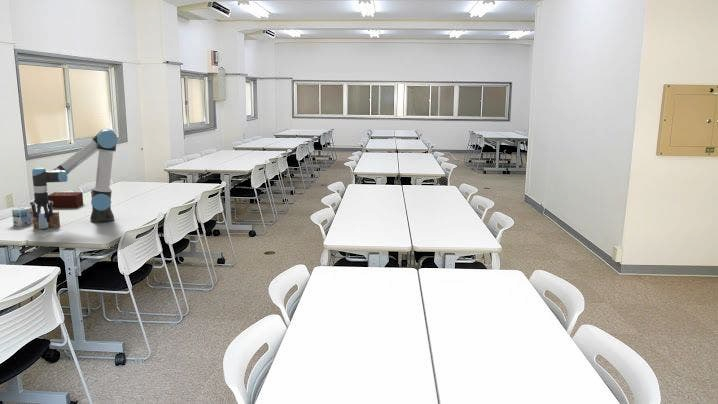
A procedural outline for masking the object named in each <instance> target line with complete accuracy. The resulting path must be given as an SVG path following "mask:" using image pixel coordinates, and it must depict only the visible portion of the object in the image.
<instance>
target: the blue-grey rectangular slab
mask: <svg viewBox="0 0 718 404" xmlns="http://www.w3.org/2000/svg"><path fill="white" fill-rule="evenodd" d="M47 209H48V212H49V208H47ZM52 212H54V211H53V209H52ZM45 218H46V215H45V211H44V210H43V211H41V213H39V223H40V228H39V229H40V230H46V229H47V228H46V226H45Z"/></svg>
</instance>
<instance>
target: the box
mask: <svg viewBox="0 0 718 404" xmlns="http://www.w3.org/2000/svg"><path fill="white" fill-rule="evenodd" d="M83 197H84V196H83V192H82V191H77V192H76V191H74V192H72V191H66V192H65V191H62V192H61V191H58V192H57V191H54V192H53V193H50V194H48V199H49V201H51V202H52V201H53V205H52V209H77V208H79V207H81V206H82V205H84V198H83ZM47 209H49V203H47Z"/></svg>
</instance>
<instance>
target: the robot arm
mask: <svg viewBox="0 0 718 404" xmlns="http://www.w3.org/2000/svg"><path fill="white" fill-rule="evenodd" d="M117 144H118V136H117V134H116V132H115V131H113V130H112V129H109V128H103V129H101V130H99V132H98V133H97V134H96V135H95V136H94V137H92V138H91V140H90V141H89V142H88V143H87V144H86V145H84V146H83V147H81V149H79V150H78V151H76V152H75V153H74V154H73V155H71V156H70V157H69V158H67V159H66V160H65V161H63V162H62V163H60V165H58V166H57V167H55V168H53V169H52V170H47V169H46V168H45V167H34V168H33V169H31V174H32V185H33V192H34V193H33V196H34V197H33V198H34V200H33V201H31V202H30V203H29V204H30V206H31V208H32V211H33V216H34V217H36V218H37V222H38V223H39V213H41V212H42V208H43V211H45V215H46V218H45V226H46V228H45V229H48V227H49V225H48V223H49V222H50V220H49V217H51V216H52V210H53V208H52V205H53V201H52V202H51V201H49V199H48V195H49V193H48V184H47V183H67V182H68V177H69V176H68V174H70V173H71V172H72V171H73V170H75V169H76V168H78V167H79V166H81V165H82V164H83V163H84V162H85V161H87V160H89V159H90V158H91V157H92V156H93V155H95V154H97V152H98V155H97V166H96V167H97V169H96V176H95V178H96V179H95V187H93V188H91V189H90V194H91V201H90V202H91V208H92V211H91V214H90V218H89V219H90V221H89V222H91V223H108V222H113V221H115V215H114V213H113V210H112V208H111V207H112V194H113V193H112V192H113V191H112V189H111V188H110V187H111V178H112V177H111V176H112V166H113V156H114V153H115V152H116V150H117ZM47 203H49V208H48V204H47ZM48 209H49V212H48ZM38 229H40V223H39V228H38Z"/></svg>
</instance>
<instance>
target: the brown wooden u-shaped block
mask: <svg viewBox="0 0 718 404" xmlns="http://www.w3.org/2000/svg"><path fill="white" fill-rule="evenodd" d="M32 216H33V213H32ZM49 220H50V222H49V223H48V225H49V227H48V228H49V229H51V228H53V229H54V228H55V229H57V228H60V227H61V221H60V212H59V211H53V212H52V216H51V217H49ZM32 225H33V228H34V229H40V228H39V223H38V222H37V218H36V217H34V216H33V223H32ZM48 228H47V229H48Z"/></svg>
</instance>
